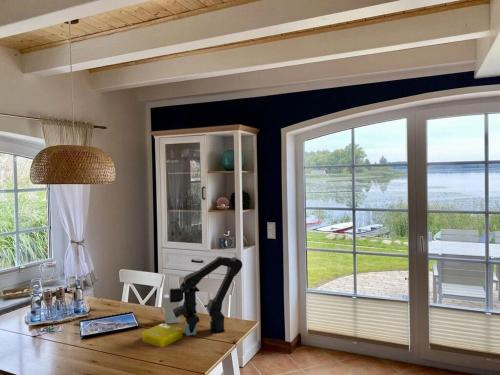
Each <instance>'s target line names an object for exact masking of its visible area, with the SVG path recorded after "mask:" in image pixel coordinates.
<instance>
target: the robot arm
mask: <svg viewBox="0 0 500 375" xmlns="http://www.w3.org/2000/svg"><path fill="white" fill-rule="evenodd" d="M221 266H223V267H227V268H226V273H225V276H224V277H223V280H222V281H221V284H220V285H219V287H218V290H217V292H216V295H215V296H214V298H213V299H211V298H209V301H208V303H207V305H206V312H207V313H208V315H209V317H211V318H210V321H209V330H210V331H211V332H212V334H216V333H225V332H226V330H225V315H224V313H223V312H222V308H223V301H224V299H225V297H226V295H227V294H228V291H229V289H230V287H231V284H232V283H233V280H234V279H235V277H236V276H237V275H238V274H239V273H240V271H241V269H242V268H243V262H242V261H241V260H240V259H239V258H237V257H235V256H234V257H223V256H217V257H216V258H215V259H213V260H212V261H210V262H209V263H208V264H206V265H205V266H203V267H201V268H200V269H198V270H196V271H194V272H191V273H188V274H186V275H185V276H184V277H183V282H182V283H181V284H180V286H179V288H172V287H171V288H169V301H170V303H173V302H179V303H181V302H182V301H183V303H182V304H181V305H179V307H177V308H175V309H173V312H174V315H175V317H176V318H177V317H179V316H180V317H181V316H183V318H184V319H185V320H184V321H185V322H186V323H187V324H189V329H190V333H193V330H194V328H195V326H196V327H197V324H198V323H200V317H199V315H198V314H197V308H196V307H197V305H198V304H197V301H196V300H197V298H196V297H197V296H196V294H197V292H200V288H198V287H197V285H198V284H199V283H200V282H201V280H203V279H204V278H205V277H206V276H208V275H209V274H211V273H212V272H214V271H215V270H217V269H219V267H221Z"/></svg>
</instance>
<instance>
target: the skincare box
mask: <svg viewBox="0 0 500 375" xmlns="http://www.w3.org/2000/svg"><path fill="white" fill-rule="evenodd" d="M163 304H164V306H163V307H164V324H168V325H171V324H176V323H181V318H180V317H181V316H179V317H177V318H176V317H175V315H174V312H173V309H175V308H177V307H179V306H180V302H173V303H170V301H169V294H164V295H163Z"/></svg>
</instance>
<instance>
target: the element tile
mask: <svg viewBox="0 0 500 375" xmlns="http://www.w3.org/2000/svg"><path fill="white" fill-rule="evenodd" d="M182 338H183V328H182V327H178V326H175V325H171V324H165V322H164V323H159V324H157V325H155V326H152V327H151V328H148V329H146V330H144V331H142V333H141V339H142V340H141V341H142V342H144V343H147V344H150V345H153V346H157V347H161V348H162V347H166V346H168V345H170V344H172V343H174V342H176V341H177V340H179V339H182Z"/></svg>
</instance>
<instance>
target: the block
mask: <svg viewBox="0 0 500 375" xmlns="http://www.w3.org/2000/svg"><path fill="white" fill-rule="evenodd" d="M184 333H185V336H192V335H197V325H196V326H195V328H194V330H193V333H190V329H189V324H187V323H186V321H185V322H184Z"/></svg>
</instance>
